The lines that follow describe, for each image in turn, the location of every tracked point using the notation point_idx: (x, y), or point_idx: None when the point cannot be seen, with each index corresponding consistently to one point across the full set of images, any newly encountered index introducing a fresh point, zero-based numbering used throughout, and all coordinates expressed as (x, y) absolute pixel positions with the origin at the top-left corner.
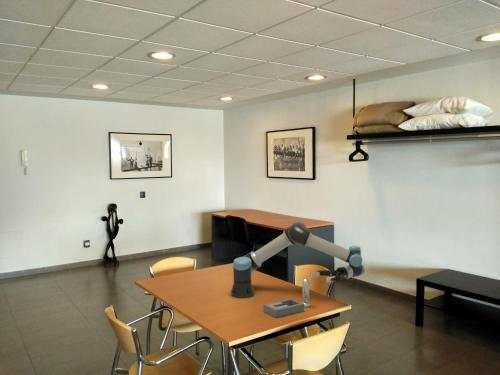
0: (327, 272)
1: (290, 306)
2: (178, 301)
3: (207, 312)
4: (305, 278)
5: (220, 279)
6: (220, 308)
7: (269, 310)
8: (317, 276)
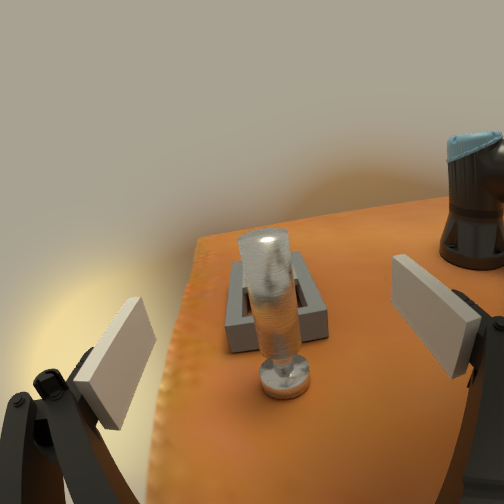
0: (465, 454)
1: (234, 290)
2: (415, 204)
3: (342, 222)
4: (284, 235)
5: None
6: (361, 230)
7: None
8: (431, 351)
